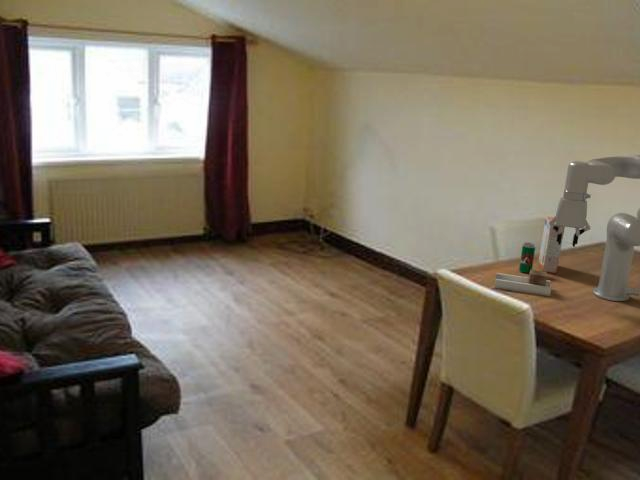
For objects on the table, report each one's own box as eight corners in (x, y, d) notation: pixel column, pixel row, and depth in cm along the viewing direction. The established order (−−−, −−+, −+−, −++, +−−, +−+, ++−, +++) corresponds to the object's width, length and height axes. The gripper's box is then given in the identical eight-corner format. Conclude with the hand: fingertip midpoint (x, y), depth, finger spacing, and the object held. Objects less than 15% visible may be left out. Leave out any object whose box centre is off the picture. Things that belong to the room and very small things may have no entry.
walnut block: (544, 286, 236) (546, 272, 234) (544, 291, 231) (547, 276, 229) (527, 284, 238) (530, 269, 236) (527, 289, 233) (530, 274, 231)
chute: (549, 288, 237) (550, 280, 236) (549, 296, 229) (551, 288, 228) (495, 280, 243) (496, 272, 242) (494, 287, 235) (495, 279, 234)
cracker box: (557, 273, 255) (565, 225, 250) (542, 272, 256) (550, 223, 251) (552, 263, 269) (560, 217, 263) (537, 262, 270) (545, 215, 264)
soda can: (534, 273, 255) (538, 245, 251) (524, 274, 253) (528, 246, 249) (526, 269, 259) (530, 241, 256) (516, 270, 257) (520, 242, 254)
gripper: (598, 197, 223) (590, 245, 228) (549, 191, 228) (542, 239, 233) (600, 200, 216) (591, 250, 221) (550, 195, 221) (542, 244, 226)
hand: (566, 244), depth 227 cm, fingers open, 4 cm apart
